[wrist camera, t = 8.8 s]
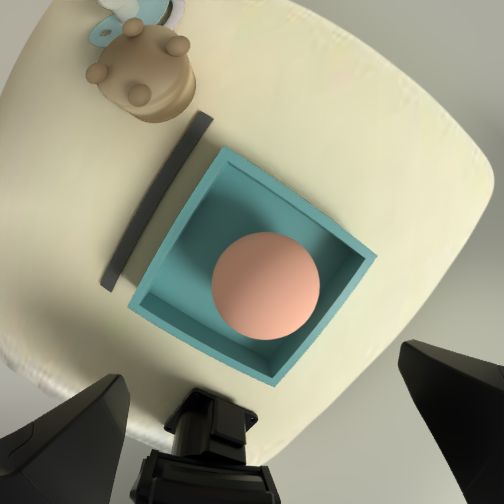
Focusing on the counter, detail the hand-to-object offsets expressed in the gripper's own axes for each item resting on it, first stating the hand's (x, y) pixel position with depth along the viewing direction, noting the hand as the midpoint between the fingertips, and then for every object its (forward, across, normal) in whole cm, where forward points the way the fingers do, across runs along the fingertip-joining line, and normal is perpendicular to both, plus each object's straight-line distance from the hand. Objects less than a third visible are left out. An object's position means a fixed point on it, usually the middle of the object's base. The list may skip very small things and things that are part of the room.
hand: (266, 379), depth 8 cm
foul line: (+12, +6, -5) cm, 14 cm away
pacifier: (+12, +6, -19) cm, 24 cm away
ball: (+8, -1, 0) cm, 8 cm away
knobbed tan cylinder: (+12, +5, -13) cm, 18 cm away
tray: (+12, 0, 0) cm, 12 cm away
